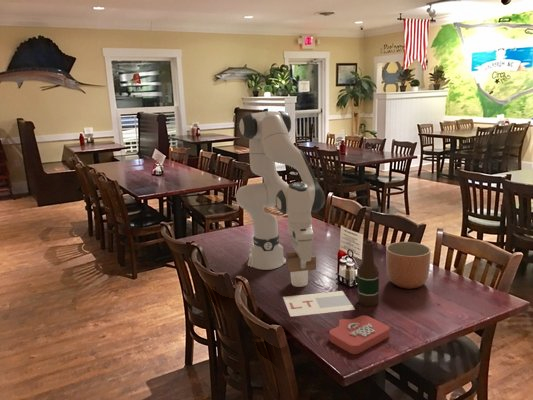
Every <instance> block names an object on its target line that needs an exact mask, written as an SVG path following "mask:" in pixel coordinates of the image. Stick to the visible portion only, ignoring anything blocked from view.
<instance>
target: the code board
mask: <svg viewBox="0 0 533 400" xmlns="http://www.w3.org/2000/svg"><path fill="white" fill-rule="evenodd" d="M282 298H283V301H284V304H285V306H286V309H287V311H288V314H289V316H290V317H300V316H301V317H302V316H308V315H309V316H310V315H319V314H326V313H328V314H329V313H335V312H336V313H337V312H344V311H353V310H354V311H355V310H356V309H355V307H354V305H353V304H352V302H351V301H350V300H349V298H348V297H347V296H346V294H345V292H344V291H343V290H339V291H328V292H319V293H309V294H300V295H299V294H298V295H290V296H289V295H287V296H282Z"/></svg>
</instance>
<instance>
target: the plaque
mask: <svg viewBox="0 0 533 400" xmlns="http://www.w3.org/2000/svg"><path fill="white" fill-rule="evenodd" d="M390 328H391V327H390V326H389V325H387V324H385V323H383V322H381V321H379V320H377V319H375V318H373V317H371V316H370V315H369V316H368V315H360V316H358V317H357V316H356V317H355V318H352V319H351V318H350V319H349V318H348V319H347V318H344V319H339V320H338V326H336V327H334V328H331V329H330V330H329V333H328V334H329V339H328V340H329V342H331V343H332V344H334V345H335V346H337V347H339V348H341V349H342V350H344V351H346V352H347V353H349V354H352V355H358V354H360V353H362V352H364V351H366V350H368V349H369V348H371V347H373V346H375V345H377V344H379V343H381V342H382V341H385V340H386V339H388V338H389V337H390V333H391V331H390Z"/></svg>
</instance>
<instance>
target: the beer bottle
mask: <svg viewBox="0 0 533 400" xmlns="http://www.w3.org/2000/svg"><path fill="white" fill-rule="evenodd" d="M362 255H363V257H362V262H361V263H360V265H359V267H358V269H357V301H358V303H359V305H360V306H363V307H375V306H377V305H378V304H379V297H380V296H379V295H380V292H379V291H380V289H379V287H380V276H379V275H380V274H379V269H378V267H377V265H376V264H375V260H374V259H375V258H374V242H373V241H370V240H367V241H364V242H363V254H362Z"/></svg>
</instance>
